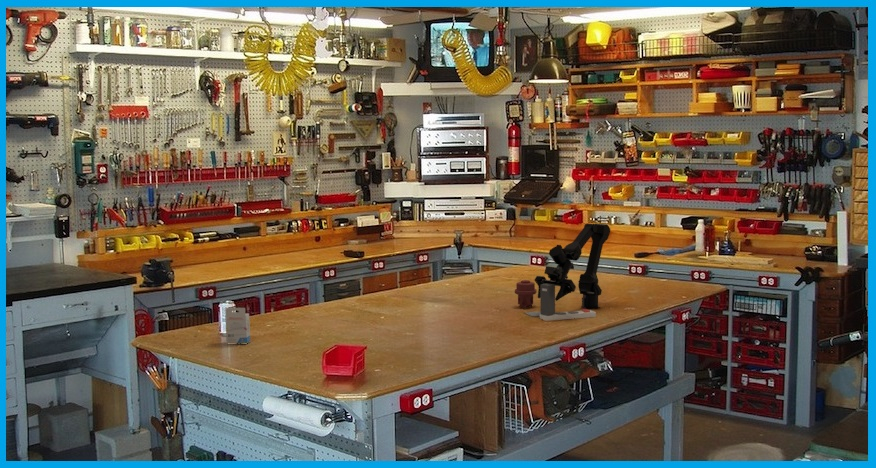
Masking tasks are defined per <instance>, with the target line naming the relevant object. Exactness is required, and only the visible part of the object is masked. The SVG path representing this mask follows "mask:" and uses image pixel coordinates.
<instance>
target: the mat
mask: <svg viewBox="0 0 876 468" xmlns="http://www.w3.org/2000/svg"><path fill="white" fill-rule="evenodd" d="M524 314H525V315H527V316H529V317H532V318H535V317H540V311H532V312H530V311H529V312H524Z"/></svg>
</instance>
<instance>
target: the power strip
mask: <svg viewBox="0 0 876 468" xmlns="http://www.w3.org/2000/svg"><path fill="white" fill-rule="evenodd" d="M574 318H575V319H583V318H587V319H588V318H597V312H596V311H594V310H592V309H586V308H582V309H581V310H571V311H558V312H557V311H555V314H553V315H542V314H540V316H539V319H540V320H542V319H543V321H545V322H546V321H547V322H548V321H559V320H573V319H574Z"/></svg>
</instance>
